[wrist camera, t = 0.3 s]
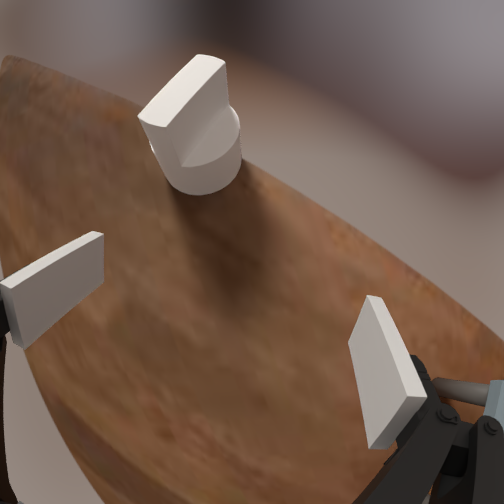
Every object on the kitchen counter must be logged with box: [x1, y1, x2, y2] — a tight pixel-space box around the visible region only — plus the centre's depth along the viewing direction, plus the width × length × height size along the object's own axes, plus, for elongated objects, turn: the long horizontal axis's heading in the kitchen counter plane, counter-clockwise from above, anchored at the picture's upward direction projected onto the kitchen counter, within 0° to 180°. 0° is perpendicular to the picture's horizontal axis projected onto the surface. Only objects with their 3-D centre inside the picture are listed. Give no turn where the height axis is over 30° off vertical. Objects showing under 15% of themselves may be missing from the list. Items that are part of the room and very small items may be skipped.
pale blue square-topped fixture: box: [422, 378, 504, 504], centre depth 19 cm, size 16×16×12 cm
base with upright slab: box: [138, 55, 242, 195], centre depth 28 cm, size 9×9×12 cm
